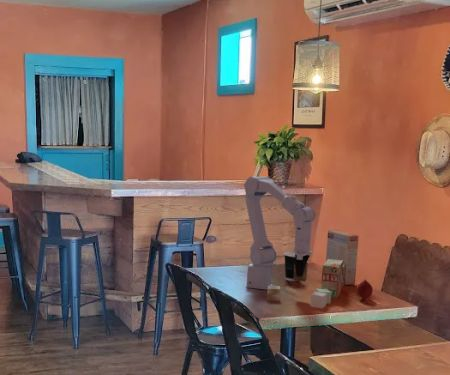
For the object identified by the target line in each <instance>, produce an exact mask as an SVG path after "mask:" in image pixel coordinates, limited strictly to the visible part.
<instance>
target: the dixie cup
mask: <svg viewBox="0 0 450 375" xmlns="http://www.w3.org/2000/svg"><path fill="white" fill-rule="evenodd" d="M283 255H284V271H285V272H284V274H285V280H286V281H289V282H297V281H296V280H293V277H294V261H293V257H295V253H294V251H286V252H284V253H283Z"/></svg>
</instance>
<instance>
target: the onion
mask: <svg viewBox="0 0 450 375" xmlns="http://www.w3.org/2000/svg"><path fill="white" fill-rule="evenodd" d="M356 293H357V294H358V296H359V298H360V299H361V300H363V301H366V300H367V299H369V298H370V297H371V296H372V295H373V286H372V284H371V283H370V282H369V281H367V279H366V278H364V279H363V281H362V282H360V283H359V284H358V285H357V288H356Z"/></svg>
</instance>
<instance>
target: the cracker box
mask: <svg viewBox="0 0 450 375" xmlns="http://www.w3.org/2000/svg"><path fill="white" fill-rule="evenodd" d="M359 237H360V236H359V235H357V234H354V233H350V232H348V231H347V232H346V231H343V230H339V229H332V230H331V229H330V230H329V229H328V230H327V239H326V240H327V241H326V255H325V262H326V261H327V260H328V259H333V260H342V261H343V263H344V264H345V277H344V286H349V285H352V286H353V285H355V284H356V277H357V276H356V275H357V262H358V248H359Z"/></svg>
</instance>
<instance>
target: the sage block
mask: <svg viewBox="0 0 450 375" xmlns="http://www.w3.org/2000/svg"><path fill="white" fill-rule="evenodd" d="M314 292H320V293H326V294H327V301H326V305H331V303H332V302H331V300H332V297H331V292H330V291H329V290H328V289H321V288H315V291H314Z"/></svg>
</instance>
